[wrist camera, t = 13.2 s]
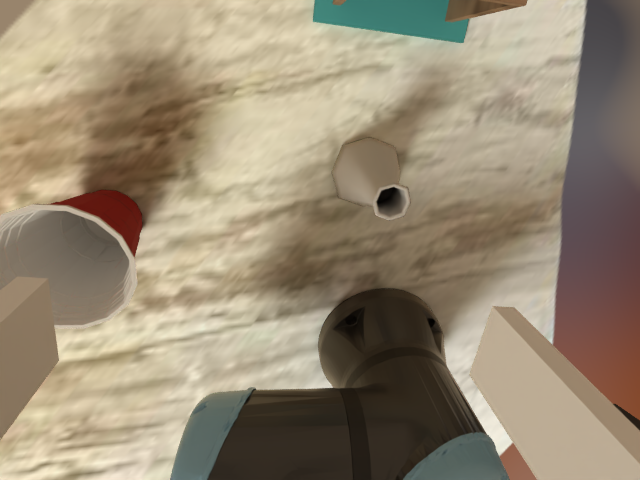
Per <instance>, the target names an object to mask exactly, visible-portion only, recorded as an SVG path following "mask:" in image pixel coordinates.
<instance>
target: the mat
mask: <svg viewBox="0 0 640 480" xmlns="http://www.w3.org/2000/svg"><path fill="white" fill-rule="evenodd" d="M448 3H449V0H346V1H345V2H344V3H343V4H342V5H333V0H315V4H314V14H313V22H319V23H326V24H333V25H340V26H347V27H354V28H361V29H368V30H375V31H382V32H389V33H396V34H403V35H410V36H417V37H423V38H430V39H437V40H444V41H451V42H458V43H464V38H465V34H466V30H467V25H468V21H469V19H465V20H460V21H456V22H446V21H445V18H446V13H447V8H448Z"/></svg>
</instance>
